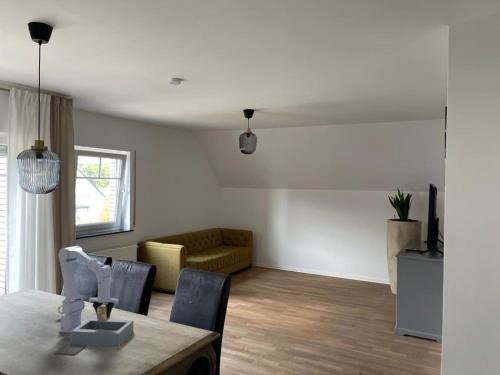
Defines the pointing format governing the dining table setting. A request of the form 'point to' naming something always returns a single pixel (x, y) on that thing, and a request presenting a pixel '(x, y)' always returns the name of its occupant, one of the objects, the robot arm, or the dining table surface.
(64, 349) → the mat
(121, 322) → the box
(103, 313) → the birch post
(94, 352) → the dining table surface
